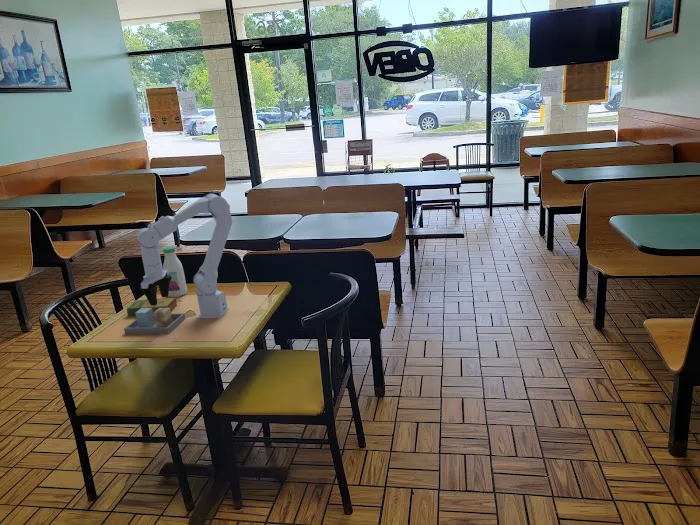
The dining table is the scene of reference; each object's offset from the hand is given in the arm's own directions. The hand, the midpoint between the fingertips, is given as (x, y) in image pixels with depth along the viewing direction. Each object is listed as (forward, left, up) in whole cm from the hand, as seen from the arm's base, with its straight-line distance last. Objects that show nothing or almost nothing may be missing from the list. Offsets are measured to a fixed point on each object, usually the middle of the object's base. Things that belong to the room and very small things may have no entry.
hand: (159, 300), depth 180 cm
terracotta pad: (-6, +10, -10) cm, 15 cm away
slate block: (+7, 0, -10) cm, 12 cm away
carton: (+12, -13, -11) cm, 21 cm away
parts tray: (+3, 0, -10) cm, 10 cm away
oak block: (0, 0, -10) cm, 10 cm away
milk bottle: (+11, -31, -10) cm, 35 cm away
